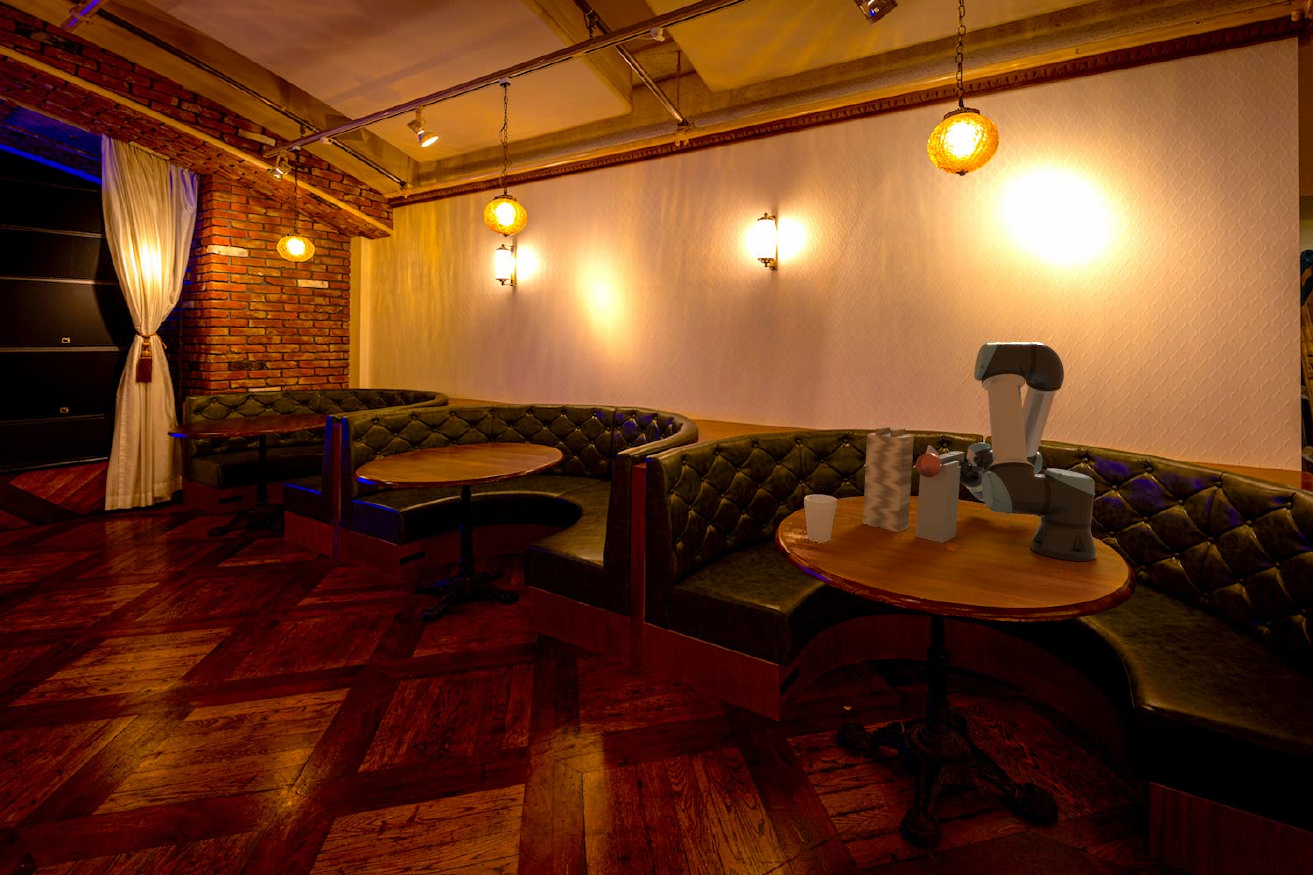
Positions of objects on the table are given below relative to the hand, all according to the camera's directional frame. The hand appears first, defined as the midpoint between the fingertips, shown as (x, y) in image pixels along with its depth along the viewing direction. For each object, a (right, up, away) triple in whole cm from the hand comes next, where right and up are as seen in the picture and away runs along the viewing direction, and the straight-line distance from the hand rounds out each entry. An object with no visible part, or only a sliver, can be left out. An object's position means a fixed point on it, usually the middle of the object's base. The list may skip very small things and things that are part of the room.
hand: (948, 451), depth 183 cm
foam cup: (-41, -27, -3) cm, 49 cm away
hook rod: (-3, -6, -2) cm, 7 cm away
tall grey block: (-4, -26, -1) cm, 27 cm away
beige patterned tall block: (-15, -25, +11) cm, 31 cm away
